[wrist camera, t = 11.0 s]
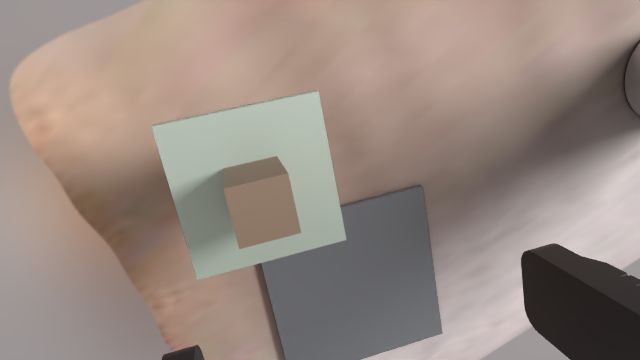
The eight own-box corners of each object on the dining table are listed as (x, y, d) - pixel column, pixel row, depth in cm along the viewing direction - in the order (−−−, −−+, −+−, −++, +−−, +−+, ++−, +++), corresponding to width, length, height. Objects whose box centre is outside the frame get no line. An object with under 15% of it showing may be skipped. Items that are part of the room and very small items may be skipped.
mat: (419, 185, 41) (422, 186, 40) (439, 330, 45) (442, 333, 45) (252, 228, 39) (252, 230, 38) (290, 377, 43) (291, 381, 42)
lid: (314, 90, 25) (339, 94, 20) (342, 234, 27) (370, 271, 22) (154, 124, 24) (134, 138, 18) (198, 272, 26) (191, 322, 21)
